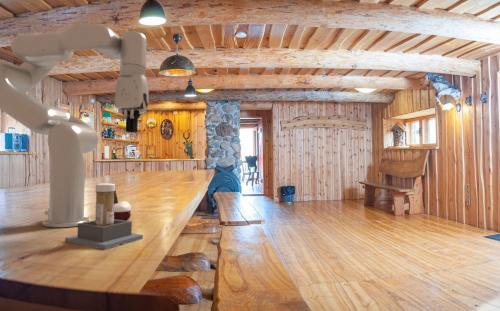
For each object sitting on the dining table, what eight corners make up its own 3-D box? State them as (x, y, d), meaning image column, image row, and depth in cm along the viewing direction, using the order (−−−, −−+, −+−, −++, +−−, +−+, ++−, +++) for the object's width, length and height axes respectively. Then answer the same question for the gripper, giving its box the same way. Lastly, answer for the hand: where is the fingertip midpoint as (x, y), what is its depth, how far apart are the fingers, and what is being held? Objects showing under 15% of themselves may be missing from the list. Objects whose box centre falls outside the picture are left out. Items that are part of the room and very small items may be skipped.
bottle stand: (65, 241, 83) (65, 223, 84) (104, 232, 94) (105, 216, 94) (105, 249, 77) (105, 230, 77) (142, 238, 88) (143, 221, 88)
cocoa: (133, 223, 109) (136, 187, 109) (113, 225, 105) (116, 187, 105) (124, 217, 117) (127, 183, 117) (105, 218, 113) (108, 183, 113)
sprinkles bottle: (115, 236, 85) (116, 184, 85) (96, 238, 83) (97, 184, 83) (111, 233, 89) (113, 182, 89) (93, 235, 87) (94, 183, 87)
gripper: (106, 72, 104) (104, 131, 104) (142, 67, 97) (141, 130, 97) (124, 77, 111) (123, 133, 111) (160, 73, 104) (158, 132, 104)
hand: (131, 132), depth 104 cm, fingers closed
